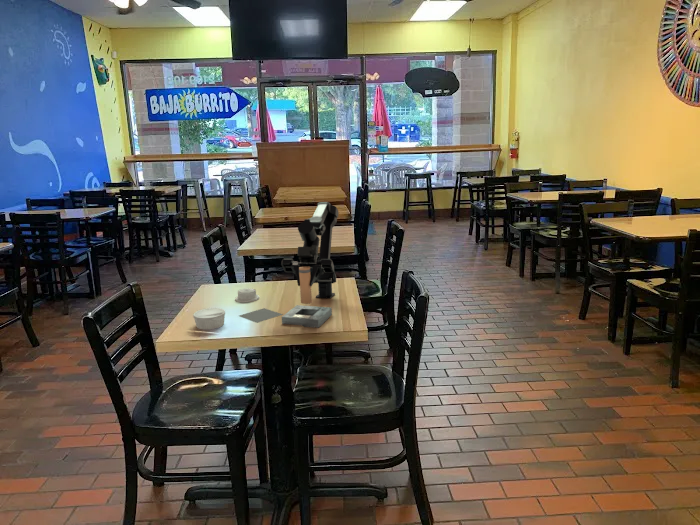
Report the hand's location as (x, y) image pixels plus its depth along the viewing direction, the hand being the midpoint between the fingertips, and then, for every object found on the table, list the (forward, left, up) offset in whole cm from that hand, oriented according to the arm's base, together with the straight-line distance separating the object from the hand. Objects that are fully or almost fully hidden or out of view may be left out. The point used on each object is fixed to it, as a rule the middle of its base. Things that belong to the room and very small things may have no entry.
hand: (304, 285), depth 191 cm
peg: (-1, 0, -7) cm, 7 cm away
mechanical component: (-20, -35, -14) cm, 42 cm away
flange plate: (-1, 0, -13) cm, 13 cm away
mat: (-1, -19, -13) cm, 23 cm away
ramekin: (+13, -32, -14) cm, 37 cm away
